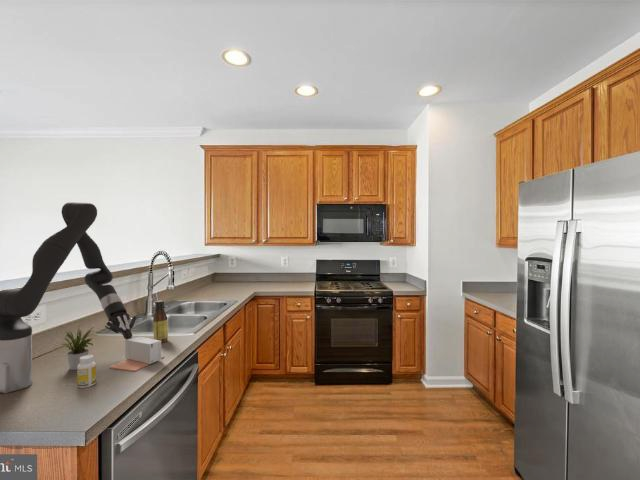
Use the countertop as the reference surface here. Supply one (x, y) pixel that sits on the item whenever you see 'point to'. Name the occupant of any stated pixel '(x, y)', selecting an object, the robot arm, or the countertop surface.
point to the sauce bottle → (160, 322)
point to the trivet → (130, 365)
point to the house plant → (76, 348)
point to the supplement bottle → (86, 372)
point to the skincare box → (143, 349)
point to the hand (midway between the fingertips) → (129, 338)
